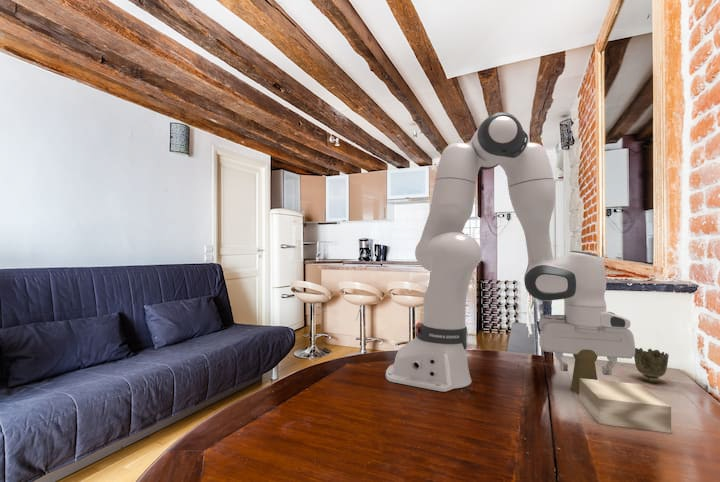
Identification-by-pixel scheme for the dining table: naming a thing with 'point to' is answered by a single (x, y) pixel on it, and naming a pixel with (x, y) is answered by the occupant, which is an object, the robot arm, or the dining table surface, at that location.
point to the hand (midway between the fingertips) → (584, 372)
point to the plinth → (624, 405)
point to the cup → (651, 364)
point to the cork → (583, 368)
